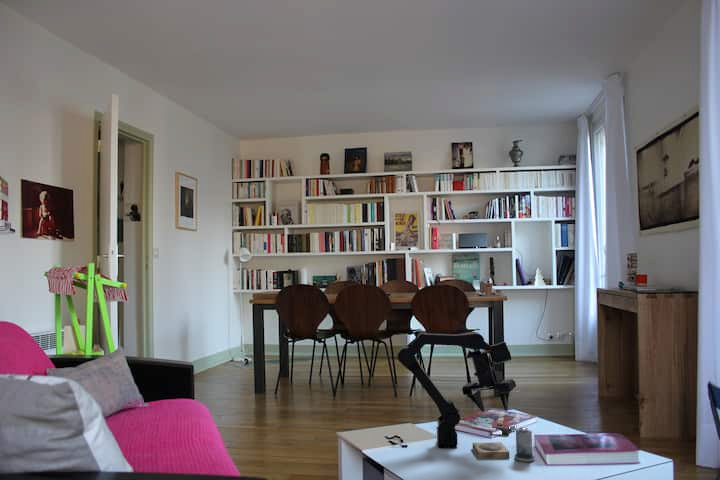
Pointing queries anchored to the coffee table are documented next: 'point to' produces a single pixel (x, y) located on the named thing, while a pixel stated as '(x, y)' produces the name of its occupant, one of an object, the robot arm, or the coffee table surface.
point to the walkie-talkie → (503, 426)
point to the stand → (490, 450)
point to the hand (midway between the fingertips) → (494, 411)
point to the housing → (524, 445)
